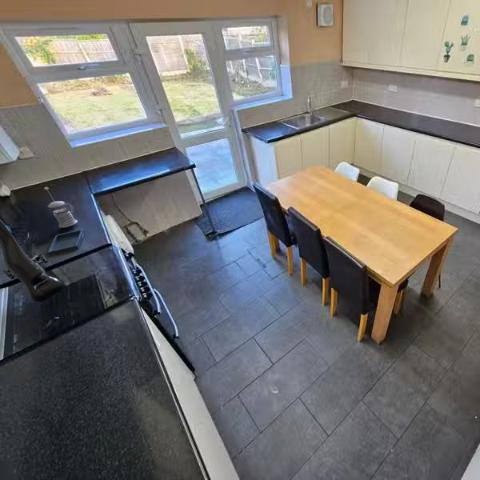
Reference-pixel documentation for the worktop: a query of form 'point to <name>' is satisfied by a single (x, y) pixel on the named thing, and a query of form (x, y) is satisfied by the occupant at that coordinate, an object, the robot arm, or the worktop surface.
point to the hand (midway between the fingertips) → (21, 260)
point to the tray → (66, 241)
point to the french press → (65, 221)
